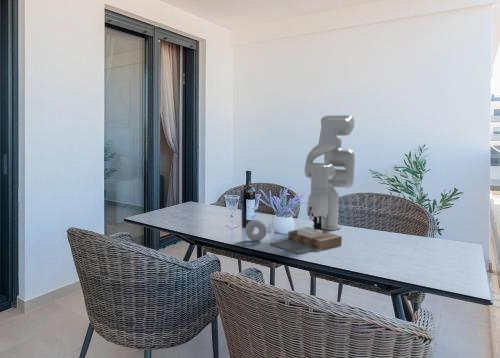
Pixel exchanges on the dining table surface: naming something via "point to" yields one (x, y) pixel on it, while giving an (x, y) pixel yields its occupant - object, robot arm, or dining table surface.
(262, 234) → the donut
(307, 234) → the tile
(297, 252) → the mat
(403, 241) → the dining table surface
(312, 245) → the stand
